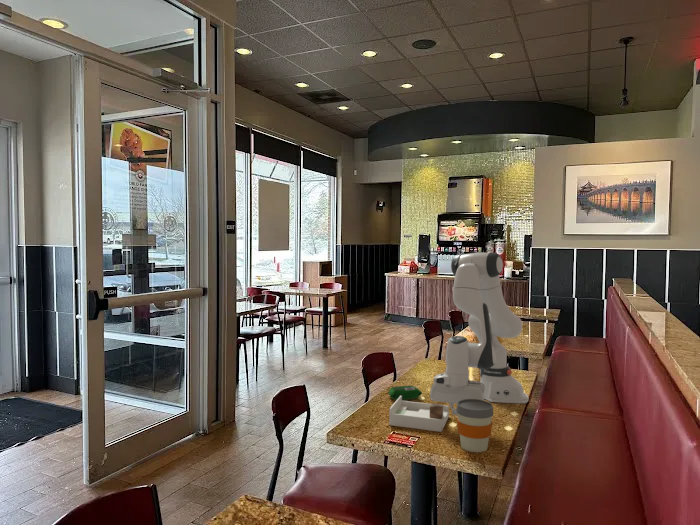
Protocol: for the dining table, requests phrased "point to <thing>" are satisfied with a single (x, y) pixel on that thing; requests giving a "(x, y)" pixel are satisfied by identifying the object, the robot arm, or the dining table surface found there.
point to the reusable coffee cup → (474, 424)
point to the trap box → (416, 415)
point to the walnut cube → (436, 411)
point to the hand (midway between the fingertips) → (456, 414)
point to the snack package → (404, 392)
